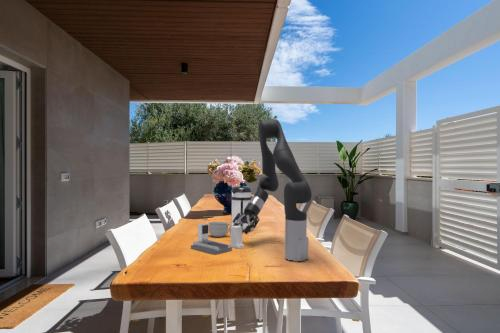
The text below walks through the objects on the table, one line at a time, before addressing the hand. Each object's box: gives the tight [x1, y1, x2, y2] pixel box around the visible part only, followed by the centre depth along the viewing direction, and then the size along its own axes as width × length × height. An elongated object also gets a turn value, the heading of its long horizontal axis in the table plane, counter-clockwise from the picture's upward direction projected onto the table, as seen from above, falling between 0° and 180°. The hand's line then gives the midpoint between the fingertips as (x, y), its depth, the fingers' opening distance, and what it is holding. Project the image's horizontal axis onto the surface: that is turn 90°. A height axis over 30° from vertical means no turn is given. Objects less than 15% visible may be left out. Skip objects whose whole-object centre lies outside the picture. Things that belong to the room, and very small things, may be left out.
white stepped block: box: [229, 226, 245, 250], centre depth 174 cm, size 6×4×10 cm, turn 48°
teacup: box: [208, 221, 233, 238], centre depth 199 cm, size 14×11×8 cm
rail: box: [190, 222, 233, 256], centre depth 168 cm, size 17×11×12 cm, turn 48°
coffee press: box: [228, 181, 254, 234], centre depth 218 cm, size 17×16×30 cm
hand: (238, 231), depth 175 cm, fingers open, 8 cm apart
